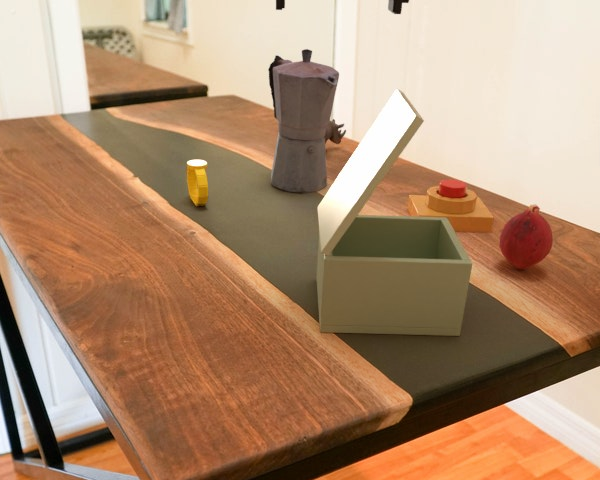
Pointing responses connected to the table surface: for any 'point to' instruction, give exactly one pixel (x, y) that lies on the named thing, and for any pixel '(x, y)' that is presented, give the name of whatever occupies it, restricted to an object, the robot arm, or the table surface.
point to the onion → (526, 239)
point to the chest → (394, 278)
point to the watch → (197, 181)
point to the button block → (453, 210)
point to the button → (452, 189)
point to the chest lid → (366, 169)
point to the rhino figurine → (334, 132)
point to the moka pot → (301, 121)
